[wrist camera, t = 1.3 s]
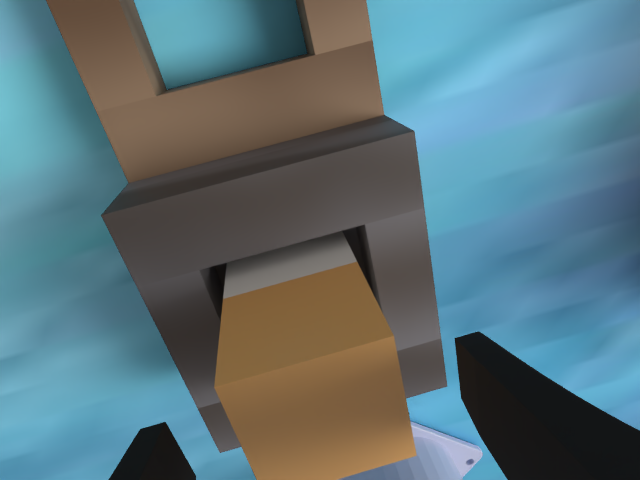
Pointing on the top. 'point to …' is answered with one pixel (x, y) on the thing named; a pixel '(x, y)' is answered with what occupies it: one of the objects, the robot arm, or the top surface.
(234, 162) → the wooden base
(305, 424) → the plug
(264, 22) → the top surface
